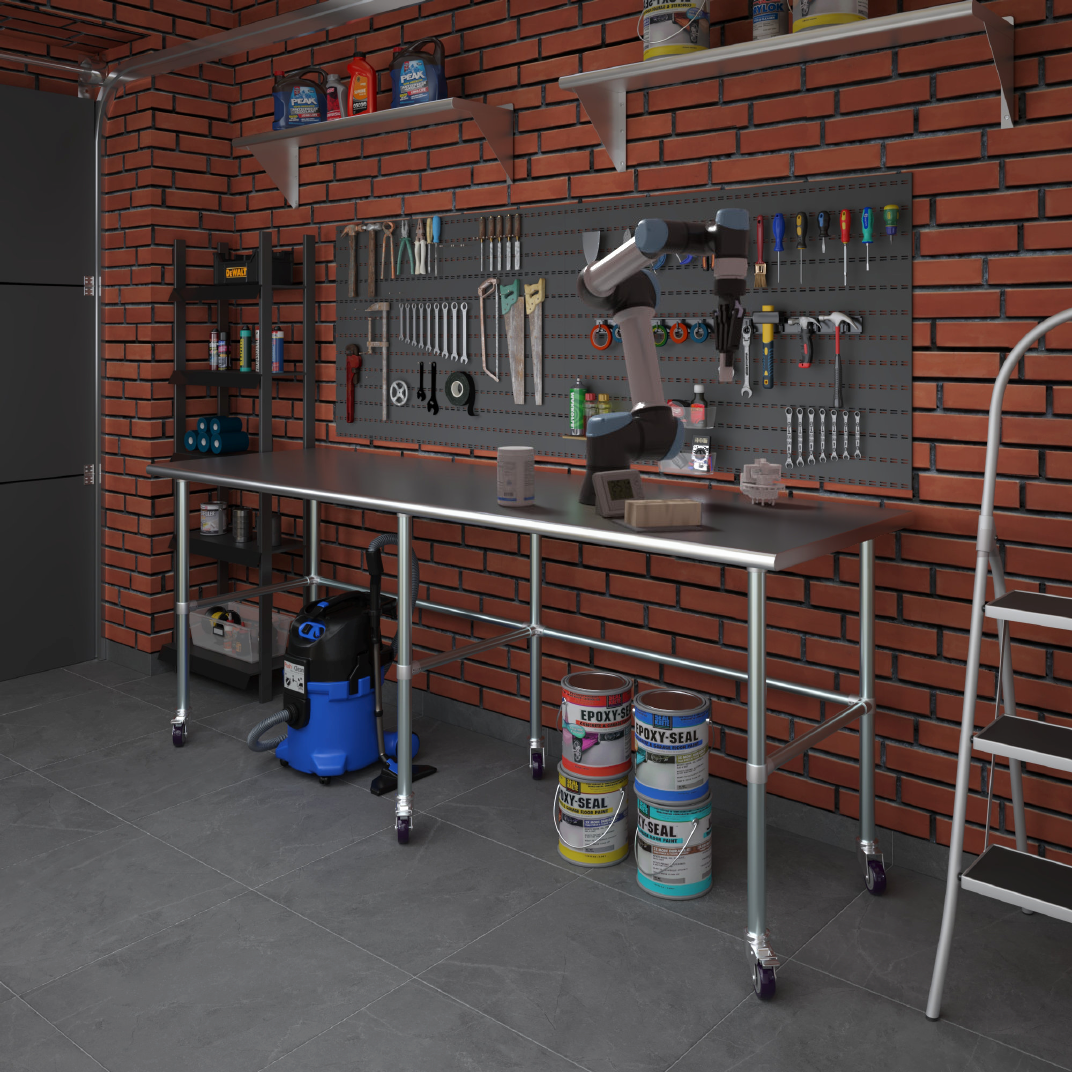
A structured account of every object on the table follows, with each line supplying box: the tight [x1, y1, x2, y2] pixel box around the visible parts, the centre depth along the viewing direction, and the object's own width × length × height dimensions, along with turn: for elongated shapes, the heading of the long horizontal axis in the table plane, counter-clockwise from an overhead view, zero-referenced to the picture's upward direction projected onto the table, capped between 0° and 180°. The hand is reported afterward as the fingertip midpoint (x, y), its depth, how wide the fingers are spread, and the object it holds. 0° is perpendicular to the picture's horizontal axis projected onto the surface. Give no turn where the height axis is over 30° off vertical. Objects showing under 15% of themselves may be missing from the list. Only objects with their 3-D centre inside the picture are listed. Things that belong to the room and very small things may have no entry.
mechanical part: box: [739, 458, 786, 506], centre depth 274 cm, size 11×12×12 cm
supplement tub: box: [496, 445, 536, 508], centre depth 266 cm, size 10×10×15 cm
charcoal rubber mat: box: [611, 518, 703, 533], centre depth 236 cm, size 16×16×1 cm
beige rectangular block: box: [624, 498, 704, 527], centre depth 236 cm, size 7×5×16 cm
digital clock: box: [592, 468, 647, 518], centre depth 252 cm, size 16×9×11 cm, turn 122°
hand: (725, 381), depth 245 cm, fingers closed
